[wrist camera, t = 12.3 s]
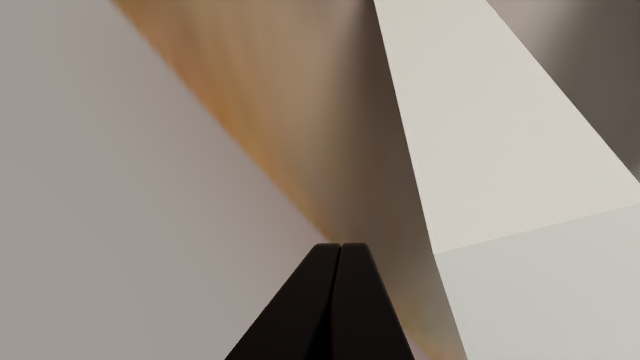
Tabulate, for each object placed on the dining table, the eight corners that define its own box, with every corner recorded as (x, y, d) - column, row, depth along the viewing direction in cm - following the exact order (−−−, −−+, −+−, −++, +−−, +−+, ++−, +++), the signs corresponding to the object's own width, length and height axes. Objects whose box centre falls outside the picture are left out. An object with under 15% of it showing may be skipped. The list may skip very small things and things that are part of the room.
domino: (417, 139, 15) (515, 506, 7) (367, -27, 13) (432, 254, 5) (478, 121, 15) (654, 485, 7) (440, -55, 12) (652, 199, 4)
